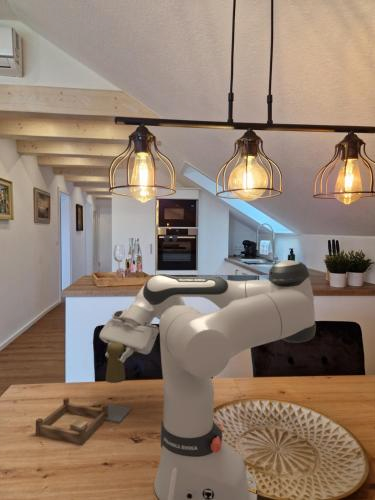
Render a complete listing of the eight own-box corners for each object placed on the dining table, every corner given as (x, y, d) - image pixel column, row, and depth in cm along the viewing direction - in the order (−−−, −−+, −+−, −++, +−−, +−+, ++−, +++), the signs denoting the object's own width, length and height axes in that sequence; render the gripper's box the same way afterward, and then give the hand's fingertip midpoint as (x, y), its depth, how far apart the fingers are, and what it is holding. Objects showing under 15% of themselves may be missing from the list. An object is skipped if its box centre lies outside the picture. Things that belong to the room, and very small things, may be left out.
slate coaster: (131, 409, 103) (131, 407, 103) (119, 423, 96) (119, 421, 96) (108, 405, 105) (108, 403, 105) (95, 419, 98) (95, 417, 98)
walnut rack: (107, 418, 98) (108, 405, 98) (83, 444, 86) (83, 430, 85) (65, 410, 102) (65, 397, 102) (35, 434, 89) (35, 420, 89)
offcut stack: (89, 432, 91) (89, 420, 91) (81, 440, 87) (81, 427, 87) (74, 429, 92) (74, 417, 92) (66, 437, 88) (66, 424, 88)
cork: (110, 373, 104) (110, 339, 103) (128, 375, 103) (128, 341, 102) (101, 381, 98) (102, 345, 97) (120, 383, 97) (121, 347, 96)
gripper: (165, 332, 103) (144, 372, 96) (119, 321, 115) (97, 356, 107) (156, 321, 99) (133, 362, 92) (110, 311, 111) (86, 347, 103)
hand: (113, 359), depth 100 cm, fingers closed on cork, 4 cm apart
